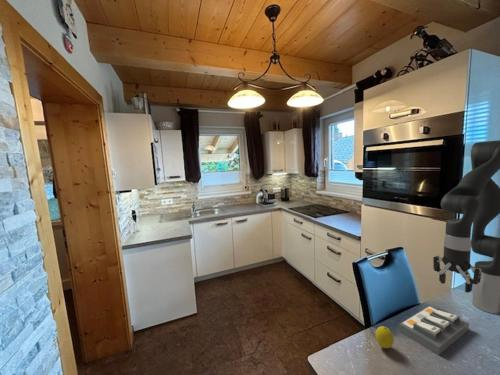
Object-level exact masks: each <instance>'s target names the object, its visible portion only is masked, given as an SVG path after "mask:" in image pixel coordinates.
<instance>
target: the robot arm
mask: <svg viewBox="0 0 500 375" xmlns="http://www.w3.org/2000/svg"><path fill="white" fill-rule="evenodd" d="M470 163H471V170H470V171H468V172H467V173H466V174H465V175H463V177H462V178H461V180H460V181H459V183H458V184H457V186H455V187H453V188H452V189H451V190H449V191H448V192H447V193H445V194H444V195H443V197H442V198H441V200H440V207H441V209H442V210H443V211H444V212H446V213H451V214H457V215H459V214H460V215H461V216H462V217H461V218H450V219H447V220H446V222H445V235H444V238H443V257H441V256H439V255H435V256H434V257H433V258H432V260H433V262H432V264H433V271H434V272H437V273H438V274H439V278H438V280H439V282H440V284H442V285H444V284H445V283H446V275H447V274H446V273H447V271H450V272H454V273H455V274H459V275H461V278H463V280H465V286H464V293H466V294H469V293H470V292H472V298H471V299H472V300H471V302H472V305H473V306H474V307H475V308H477V309H479V310H481V311H484V312H487V313H490V314H495V315H498V314H500V237H497V236H492V235H487V234H485V230H486V227H487V226H488V225H489V224H490V223H491V222H492V221H493V220H494V219H495V218H497V217H499V214H500V186H499V185H498V184H497V182H496V181H495V180H493V179H492V178H493V176H495V174H497V173H498V171H499V170H500V139H499V140H488V141H478V142H475V143H474V144H473V145H472V146H471V149H470ZM471 251H472V252H473V253H474V254H477V255H481V256H485V257H488V258H492V259H493V260H490V261H489V260H488V261H485V260H478V261H476V262H474V266H473V265H471V253H472V252H471ZM441 262H442V263H443V264H444V266H443V267H442V268H441ZM469 270H471V272H472V273H473V277H472V276H471V274H470V272H469Z"/></svg>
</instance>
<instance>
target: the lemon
mask: <svg viewBox="0 0 500 375" xmlns="http://www.w3.org/2000/svg"><path fill="white" fill-rule="evenodd" d="M375 330H376V331H375V340H376V341H377V343H378V345H379V347H381V348H384V349H390V348H391V347H393V345H394V335H393V333H392V331H391V330H390V329H389V328H388V327H386V326H383V325H382V326H378V327H377V329H375Z"/></svg>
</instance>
